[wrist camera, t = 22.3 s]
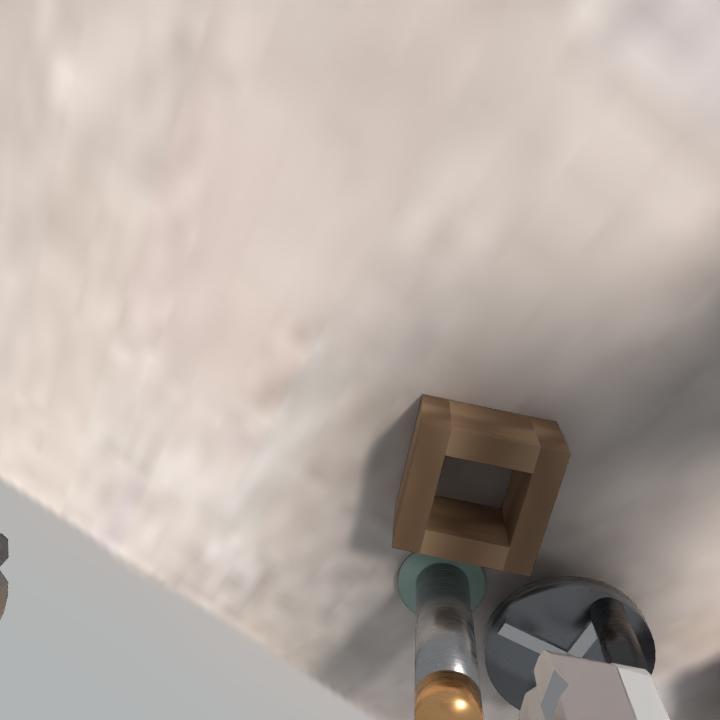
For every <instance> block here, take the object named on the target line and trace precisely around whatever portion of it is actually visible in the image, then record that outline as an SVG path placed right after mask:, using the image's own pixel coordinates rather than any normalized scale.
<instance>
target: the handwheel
mask: <svg viewBox="0 0 720 720" xmlns="http://www.w3.org/2000/svg"><path fill="white" fill-rule="evenodd" d="M543 650H548V651H553V652H557V653H562V654H567V655H572V656H577V657H581V658H586V659H591V660H596V661H601V662H605V663H609V664H611V663H615V664H620V665H625V666H631V667H636V668H641V669H645V670H647V671H648V672H649V673H650V674H652V672H653V669H654V664H655V645H654V640H653V638H652V635H651V632H650V630H649V628H648V625H647V623H646V621H645V619H644V617H643V615H642V613H641V611H640V610H639V609H638V607H637V606H636V605H635V603H634V602H633V601H632V600H631V599H630V598H629V597H627V596H626V595H625V594H623V593H622V592H621V591H619V590H617V589H616V588H614V587H612V586H610V585H608V584H605V583H603V582H600V581H596V580H593V579H589V578H583V577H570V576H566V577H554V578H548V579H543V580H540V581H536V582H533V583H531V584H528V585H526V586H524V587H522V588H520V589H518V590H516V591H515V592H514V593H512V594H511V595H509V596H508V597H507V598H506V599H505V600H504V601H502V602H501V603H500V605H499V606H498V607H497V608H496V609H495V611H494V612H493V614H492V615H491V617H490V619H489V621H488V624H487V626H486V630H485V634H484V653H485V661H486V668H487V672H488V675H489V677H490V680H491V682H492V684H493V685H494V687H495V688H496V690H497V691H498V692H499V694H500V695H501V696H502V697H503V698H504V699H505V700H506V701H508V702H509V703H510V704H511V705H513V706H514V707H516V708H517V709H519V710H520V709H521V706H522V703H523V700H524V696H525V693H527V692H528V691H530V690H531V689H533V688H534V687H536V686H537V685H536V679H535V674H534V668H535V665H536V663H537V660H538V657H539V656H540V654H541V653H542V652H543Z"/></svg>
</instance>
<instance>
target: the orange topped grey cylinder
mask: <svg viewBox="0 0 720 720" xmlns="http://www.w3.org/2000/svg"><path fill="white" fill-rule="evenodd" d="M415 720H483V711H482V701H481V692H480V682H479V673H478V663H477V654H476V644H475V635H474V625H473V616H472V606H471V597H470V587H469V580H468V578H467V576H466V574H465V573H464V572H463V571H462V570H461V569H460V568H459V567H457V566H455V565H452V564H449V563H435V564H431V565H429V566H427V567H425V568H424V569H423V570H422V571H421V572H420V573H419V575H418V577H417V580H416V627H415Z"/></svg>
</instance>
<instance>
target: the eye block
mask: <svg viewBox="0 0 720 720" xmlns="http://www.w3.org/2000/svg"><path fill="white" fill-rule="evenodd" d="M445 455H446V456H450V457H455V458H460V459H465V460H470V461H474V462H479V463H484V464H489V465H494V466H498V467H503V468H508V469H513V470H514V471H513V474H512V477H511V481H510V484H509V487H508V491H507V494H506V497H505V501H504V504H503V507H502V509H497V508H493V507H488V506H483V505H478V504H474V503H469V502H464V501H459V500H455V499H450V498H445V497H440V496H435V492H436V488H437V485H438V481H439V477H440V473H441V469H442V465H443V461H444V458H445ZM570 455H571V453H570V451H569V449H568V446H567V444H566V442H565V440H564V437H563V435H562V433H561V431H560V428H559V426H558V424H557V422H554V421H549V420H544V419H539V418H534V417H529V416H525V415H520V414H515V413H510V412H505V411H500V410H496V409H491V408H486V407H481V406H476V405H471V404H467V403H462V402H457V401H452V400H447V399H442V398H438V397H433V396H428V395H423V394H422V398H421V402H420V406H419V410H418V415H417V419H416V423H415V427H414V431H413V436H412V440H411V444H410V448H409V452H408V457H407V461H406V465H405V469H404V473H403V478H402V482H401V486H400V490H399V494H398V499H397V503H396V507H395V514H394V528H393V543H392V548H396V549H401V550H406V551H410V552H415V553H420V554H424V555H429V556H434V557H439V558H443V559H448V560H453V561H458V562H462V563H467V564H472V565H477V566H481V567H486V568H491V569H495V570H500V571H505V572H510V573H514V574H519V575H524V576H529V577H530V575H531V572H532V569H533V566H534V563H535V560H536V557H537V554H538V551H539V548H540V545H541V542H542V539H543V536H544V533H545V530H546V527H547V524H548V521H549V518H550V515H551V512H552V509H553V506H554V503H555V500H556V497H557V494H558V491H559V488H560V485H561V482H562V479H563V476H564V473H565V470H566V467H567V464H568V461H569V458H570Z"/></svg>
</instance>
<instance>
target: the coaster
mask: <svg viewBox="0 0 720 720" xmlns="http://www.w3.org/2000/svg"><path fill="white" fill-rule="evenodd" d="M435 563H449V564H452V565H455V566H457V567H459V568H460V569H461V570H462V571H463V572H464V573H465V574H466V576H467V578H468V580H469V587H470V597H471V606H472V612H473V611H474V610H475V609H476V608H477V607H478V606H479V604H480V603H481V601H482V599H483V597H484V594H485V589H486V583H485V576H484V572H483V569H482V567H481V566H477V565H472V564H467V563H462V562H458V561H453V560H448V559H443V558H439V557H434V556H429V555H424V554H420V553H415V552H414V553H412V554H411V555H410V556H409V557H408V558H407V559H406V560H405V561H404V563H403V564H402V566H401V568H400V571H399V575H398V590H399V594H400V596H401V598H402V600H403V602H404V603H405V605H406V606H407V607H408V608H409V609H410V610H411V611H413V612H414V613H416V580H417V577H418V575H419V573H420V572H421V571H422V570H423V569H424V568H425V567H427V566H429V565H431V564H435Z"/></svg>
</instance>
